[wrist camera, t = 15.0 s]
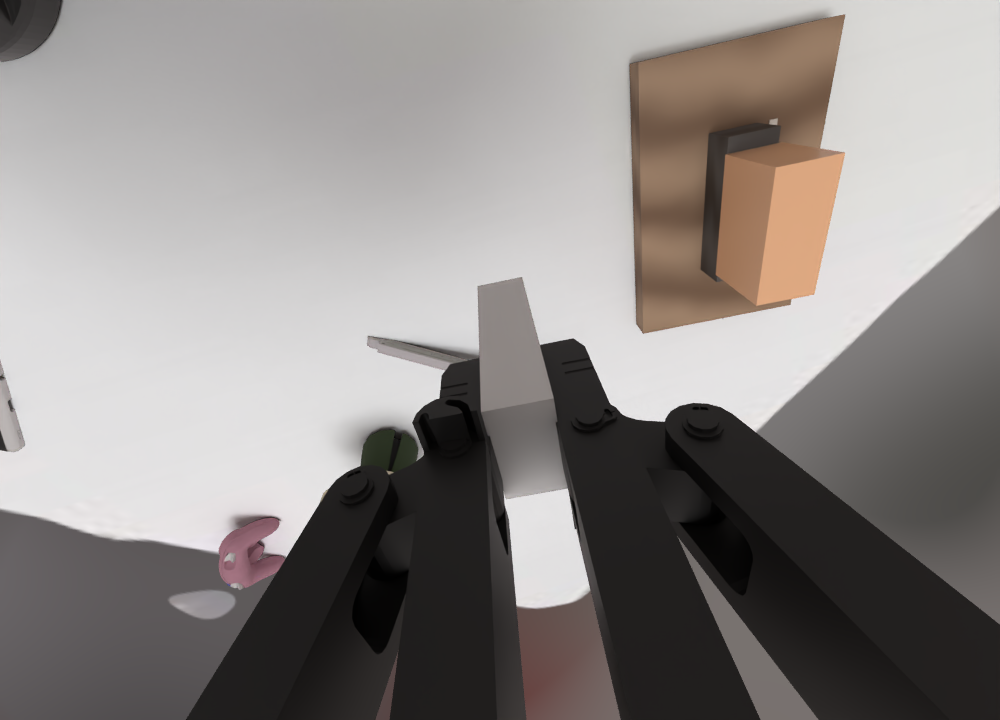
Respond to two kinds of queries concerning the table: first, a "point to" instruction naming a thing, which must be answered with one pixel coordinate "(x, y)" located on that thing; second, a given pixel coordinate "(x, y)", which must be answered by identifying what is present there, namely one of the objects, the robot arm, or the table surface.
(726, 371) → the table surface
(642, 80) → the board
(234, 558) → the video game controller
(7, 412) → the smartphone
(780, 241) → the block
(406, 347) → the caliper
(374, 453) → the character mug
